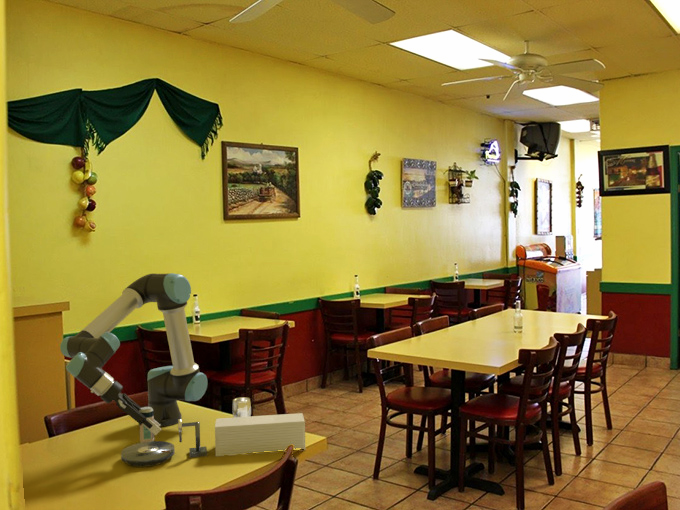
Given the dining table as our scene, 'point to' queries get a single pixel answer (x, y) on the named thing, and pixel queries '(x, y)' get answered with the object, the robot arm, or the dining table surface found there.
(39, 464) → the dining table surface
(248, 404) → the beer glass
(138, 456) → the turntable
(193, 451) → the dial indicator
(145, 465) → the turntable base
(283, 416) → the white rectangular block
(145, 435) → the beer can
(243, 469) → the dining table surface
